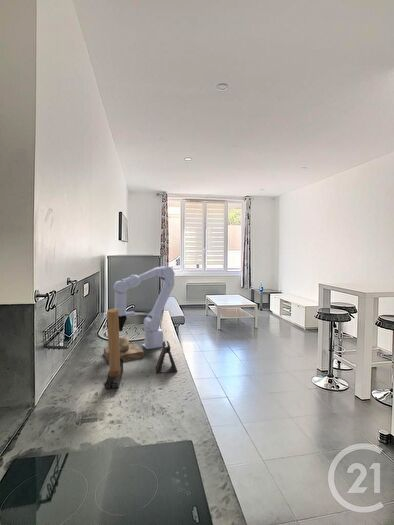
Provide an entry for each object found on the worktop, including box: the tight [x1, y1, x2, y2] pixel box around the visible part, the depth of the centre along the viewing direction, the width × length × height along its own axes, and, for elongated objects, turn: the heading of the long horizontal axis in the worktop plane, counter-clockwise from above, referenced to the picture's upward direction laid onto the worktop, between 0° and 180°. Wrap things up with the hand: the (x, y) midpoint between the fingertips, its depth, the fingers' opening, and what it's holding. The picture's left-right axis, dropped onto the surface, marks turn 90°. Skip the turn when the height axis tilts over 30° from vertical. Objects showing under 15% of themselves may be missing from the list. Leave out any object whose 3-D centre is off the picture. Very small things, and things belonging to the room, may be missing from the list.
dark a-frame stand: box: [155, 340, 178, 375], centre depth 130 cm, size 9×6×12 cm, turn 100°
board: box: [103, 342, 145, 362], centre depth 148 cm, size 16×14×3 cm
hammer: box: [103, 308, 125, 389], centre depth 117 cm, size 20×5×30 cm, turn 7°
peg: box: [119, 336, 130, 351], centre depth 148 cm, size 5×5×8 cm
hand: (120, 330), depth 154 cm, fingers closed
